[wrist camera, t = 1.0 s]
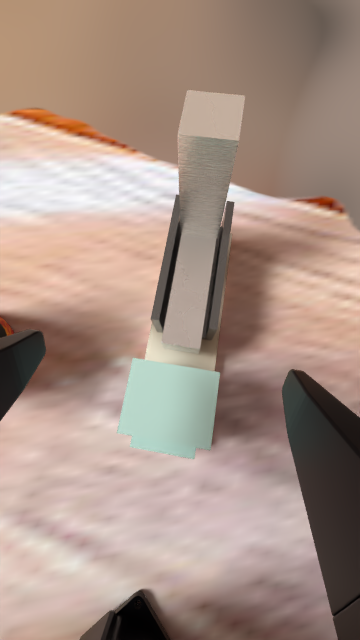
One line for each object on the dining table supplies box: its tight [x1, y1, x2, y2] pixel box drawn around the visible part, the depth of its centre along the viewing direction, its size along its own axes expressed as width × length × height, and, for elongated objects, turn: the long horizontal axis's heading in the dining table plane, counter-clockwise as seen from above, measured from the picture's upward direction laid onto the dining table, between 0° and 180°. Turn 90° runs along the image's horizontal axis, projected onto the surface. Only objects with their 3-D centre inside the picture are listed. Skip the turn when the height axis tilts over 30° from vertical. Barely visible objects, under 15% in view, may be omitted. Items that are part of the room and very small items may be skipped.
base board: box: [145, 233, 232, 371], centre depth 23 cm, size 19×6×1 cm, turn 171°
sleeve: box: [151, 195, 234, 340], centre depth 21 cm, size 11×5×4 cm, turn 171°
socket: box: [117, 358, 220, 459], centre depth 18 cm, size 5×6×5 cm
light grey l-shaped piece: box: [161, 90, 245, 354], centre depth 17 cm, size 12×3×11 cm, turn 171°
